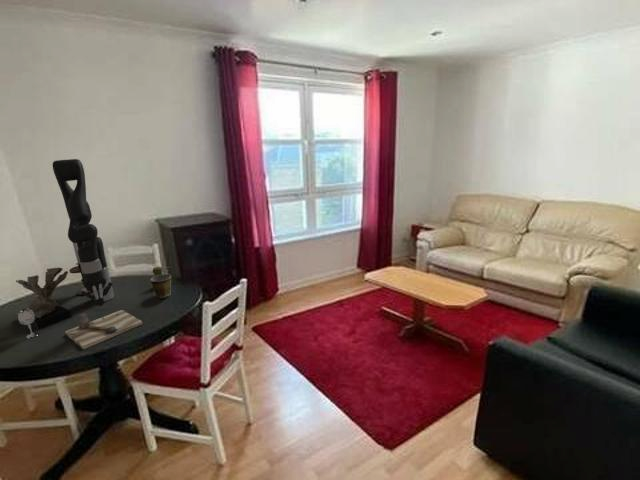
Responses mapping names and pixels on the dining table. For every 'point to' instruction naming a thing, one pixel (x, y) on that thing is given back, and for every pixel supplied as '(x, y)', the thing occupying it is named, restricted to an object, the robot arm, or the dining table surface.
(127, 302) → the dining table surface
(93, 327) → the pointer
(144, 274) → the dining table surface
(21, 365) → the dining table surface
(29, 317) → the wineglass
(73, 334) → the board
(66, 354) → the dining table surface
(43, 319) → the coral
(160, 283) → the ceramic cup
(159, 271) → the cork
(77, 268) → the candlestick
